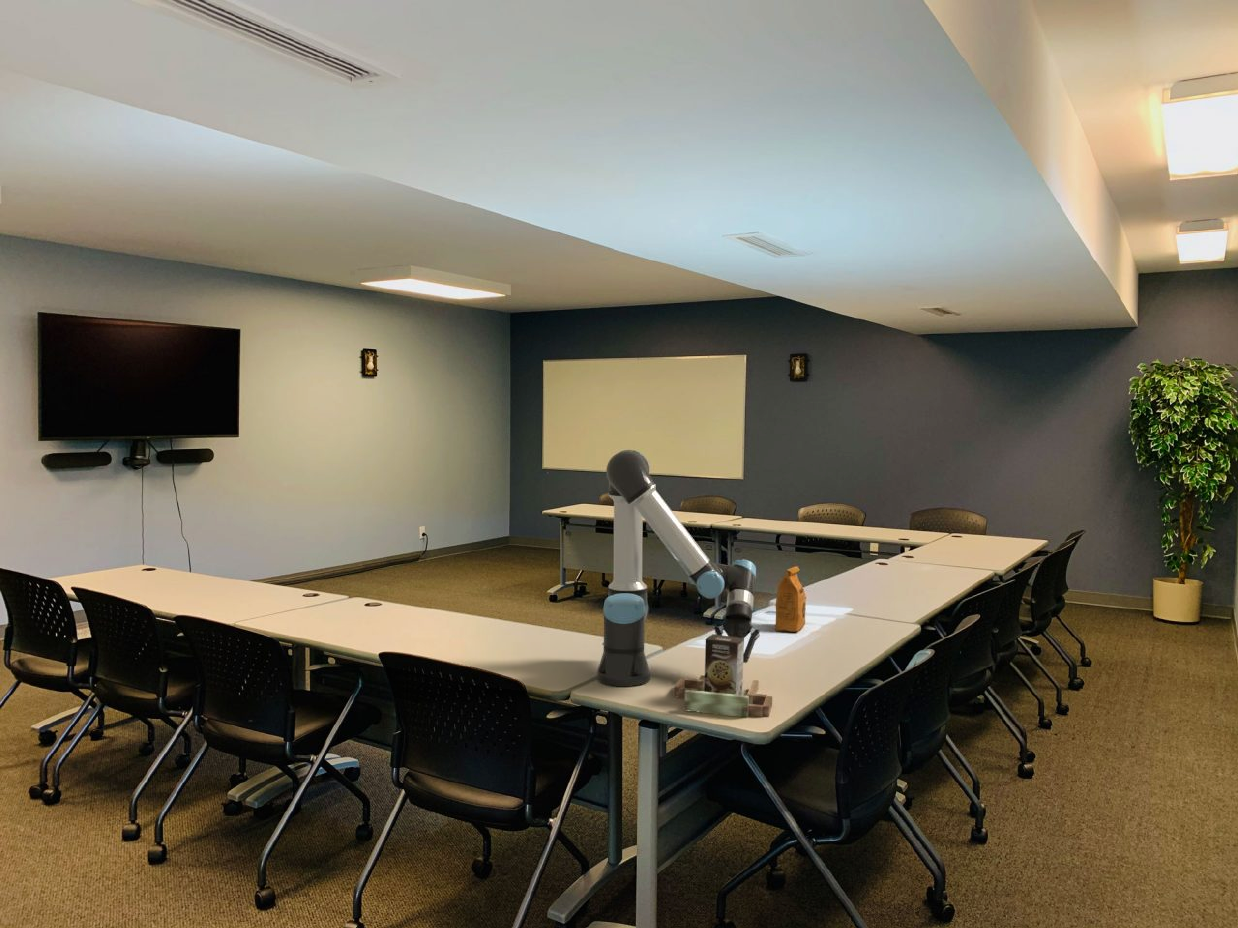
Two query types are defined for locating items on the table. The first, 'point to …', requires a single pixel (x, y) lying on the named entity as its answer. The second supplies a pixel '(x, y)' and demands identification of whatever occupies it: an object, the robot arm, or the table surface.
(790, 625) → the coffee package
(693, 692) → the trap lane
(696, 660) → the table surface
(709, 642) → the coffee box
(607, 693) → the table surface
